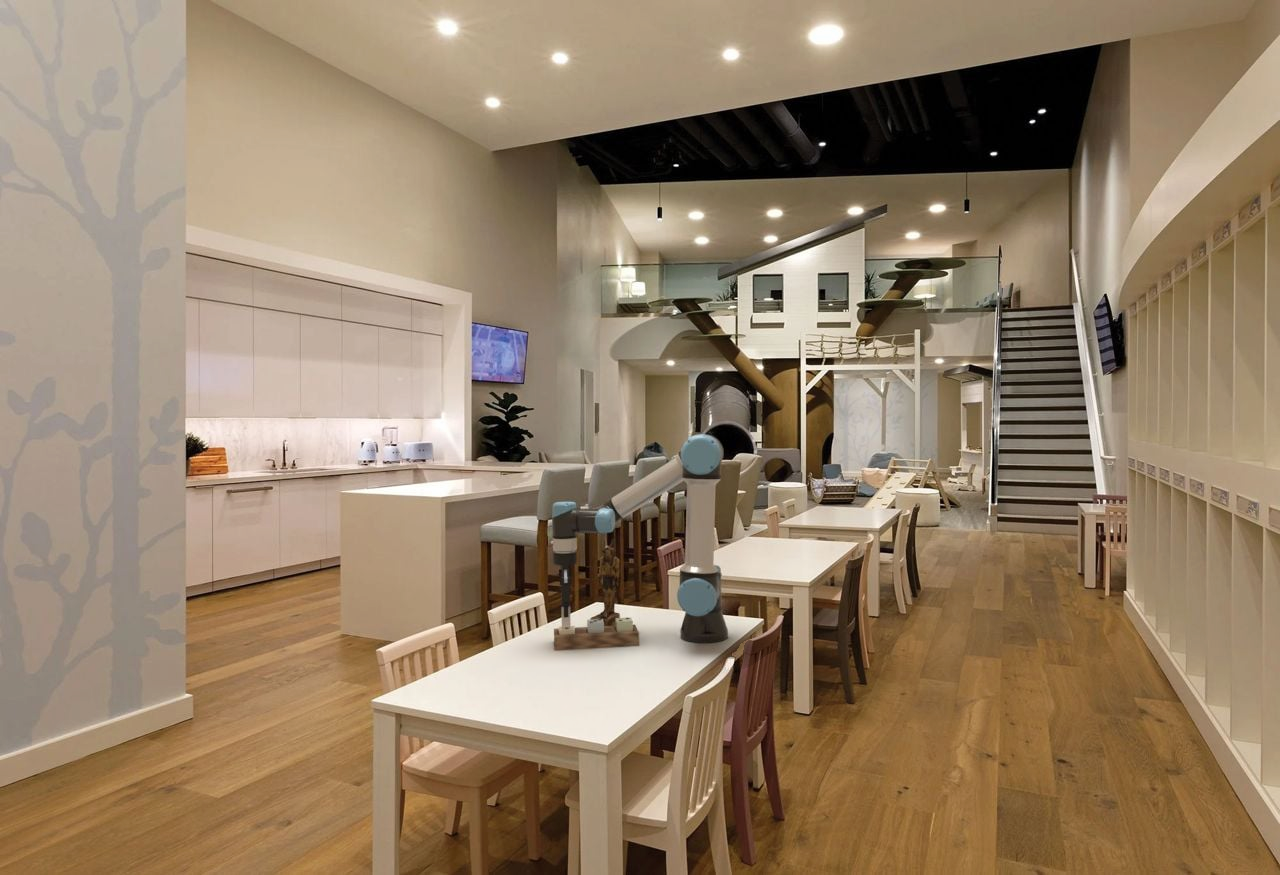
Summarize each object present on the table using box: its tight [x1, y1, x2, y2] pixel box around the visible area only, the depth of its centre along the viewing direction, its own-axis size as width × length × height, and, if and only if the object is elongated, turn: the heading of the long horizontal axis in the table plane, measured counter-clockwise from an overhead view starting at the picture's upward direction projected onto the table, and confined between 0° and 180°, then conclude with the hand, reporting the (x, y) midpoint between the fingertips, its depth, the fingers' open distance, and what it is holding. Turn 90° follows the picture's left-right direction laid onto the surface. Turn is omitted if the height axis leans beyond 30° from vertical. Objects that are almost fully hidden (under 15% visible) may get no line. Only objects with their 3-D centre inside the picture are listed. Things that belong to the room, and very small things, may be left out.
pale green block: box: [615, 617, 634, 632], centre depth 253 cm, size 5×5×4 cm
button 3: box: [586, 619, 604, 633], centre depth 252 cm, size 5×5×4 cm
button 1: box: [558, 625, 576, 635], centre depth 251 cm, size 5×5×4 cm
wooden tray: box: [553, 624, 640, 651], centre depth 252 cm, size 26×11×4 cm, turn 97°
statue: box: [589, 538, 621, 626], centre depth 272 cm, size 8×11×30 cm
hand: (566, 626), depth 251 cm, fingers closed
